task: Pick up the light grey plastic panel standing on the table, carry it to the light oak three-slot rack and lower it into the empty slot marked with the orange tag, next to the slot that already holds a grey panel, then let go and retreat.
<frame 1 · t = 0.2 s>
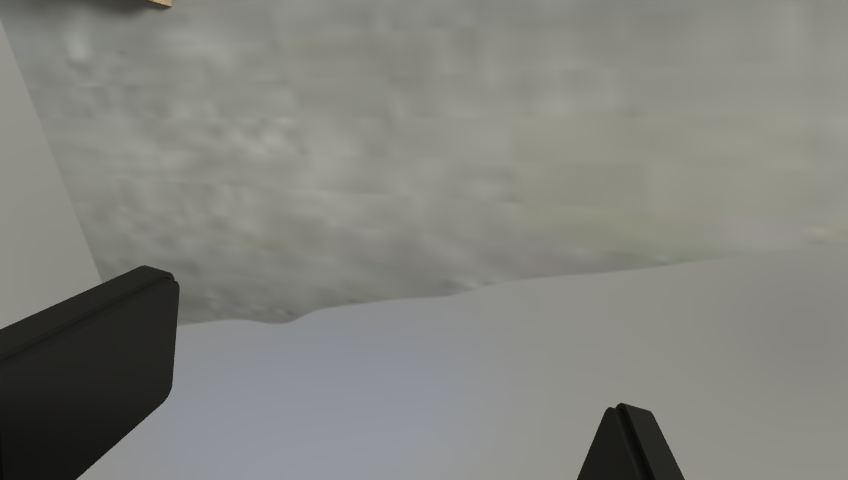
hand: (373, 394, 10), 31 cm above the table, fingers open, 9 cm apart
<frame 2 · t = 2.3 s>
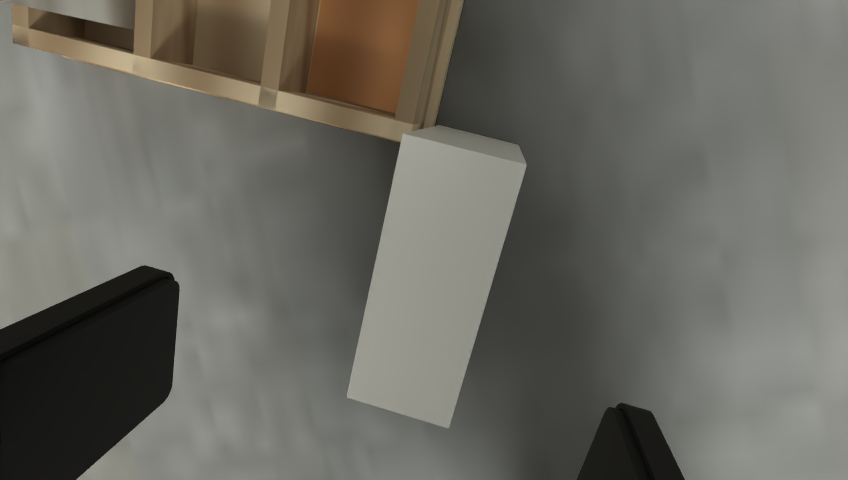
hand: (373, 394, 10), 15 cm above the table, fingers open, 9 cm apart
panel: (453, 229, 25), on the table
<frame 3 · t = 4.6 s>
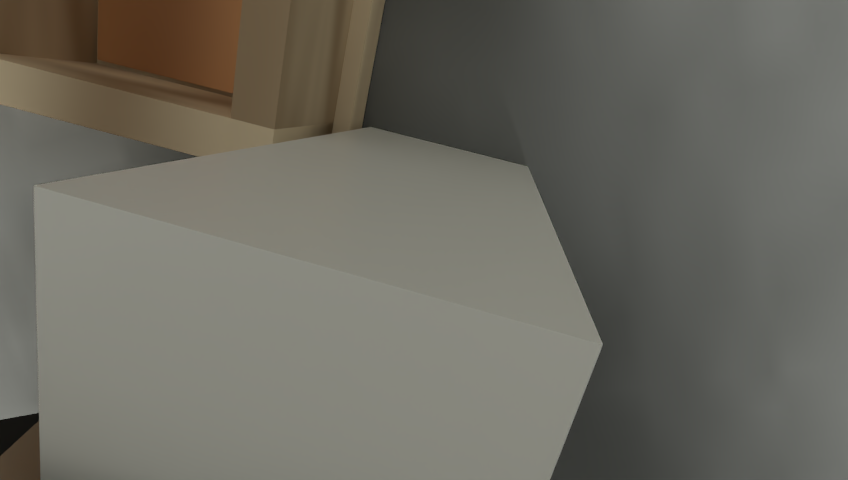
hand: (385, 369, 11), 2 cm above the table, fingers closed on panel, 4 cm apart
panel: (405, 324, 13), on the table, touching gripper
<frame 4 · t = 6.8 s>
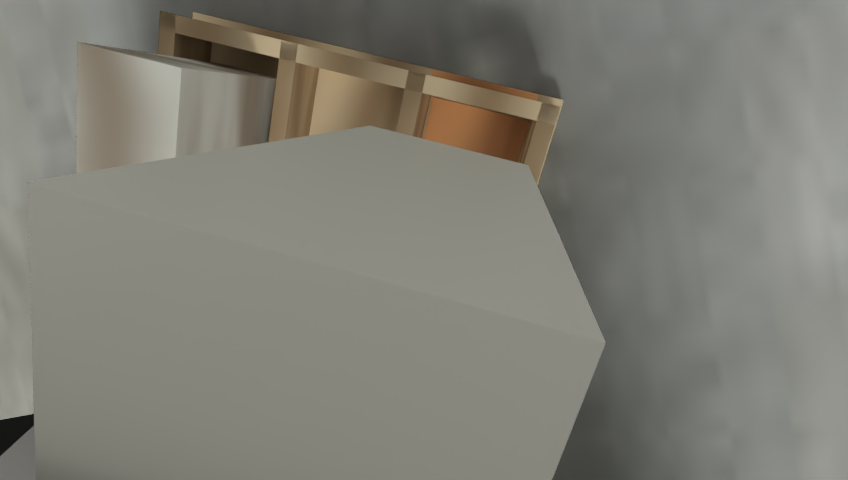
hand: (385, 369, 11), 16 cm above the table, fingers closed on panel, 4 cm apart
panel: (404, 323, 13), point 14 cm above the table, touching gripper
rack: (352, 188, 27), on the table
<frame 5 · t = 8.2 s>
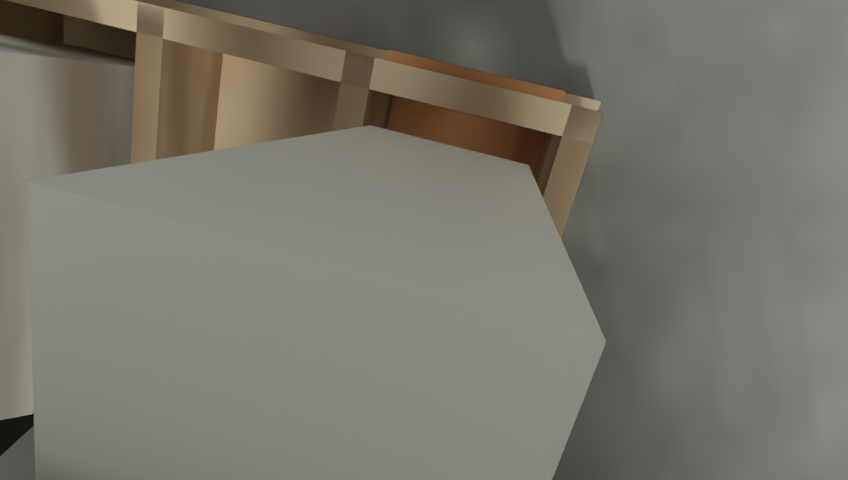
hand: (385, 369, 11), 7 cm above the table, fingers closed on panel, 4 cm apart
panel: (404, 323, 13), point 5 cm above the table, touching gripper
rack: (283, 230, 19), on the table
when the fingers open (5 cm above the table, at t = 9.4 s): panel drops 2 cm, resting on rack.
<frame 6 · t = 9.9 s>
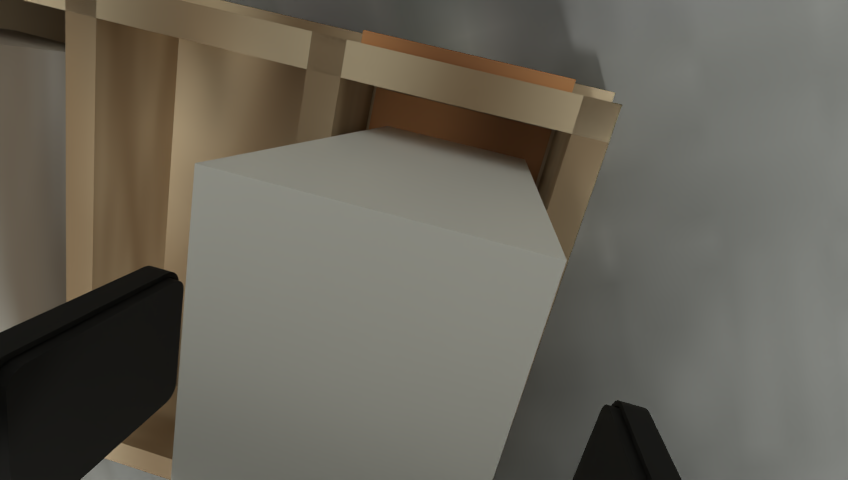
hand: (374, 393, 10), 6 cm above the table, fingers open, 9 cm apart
panel: (417, 300, 15), point 1 cm above the table, touching rack
rack: (254, 239, 16), on the table
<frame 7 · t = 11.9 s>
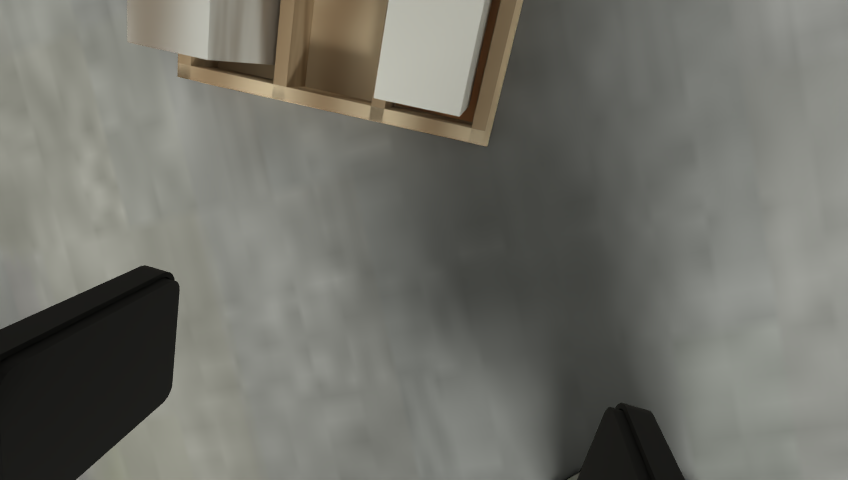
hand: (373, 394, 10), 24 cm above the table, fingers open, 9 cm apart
panel: (454, 14, 28), point 1 cm above the table, touching rack
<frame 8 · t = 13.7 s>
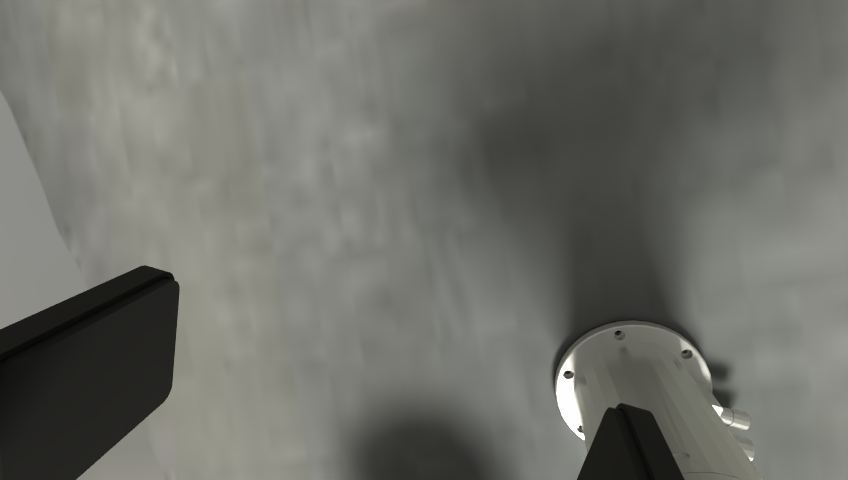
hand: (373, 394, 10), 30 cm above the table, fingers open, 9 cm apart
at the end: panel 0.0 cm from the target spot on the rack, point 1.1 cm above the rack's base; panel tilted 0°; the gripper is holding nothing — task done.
